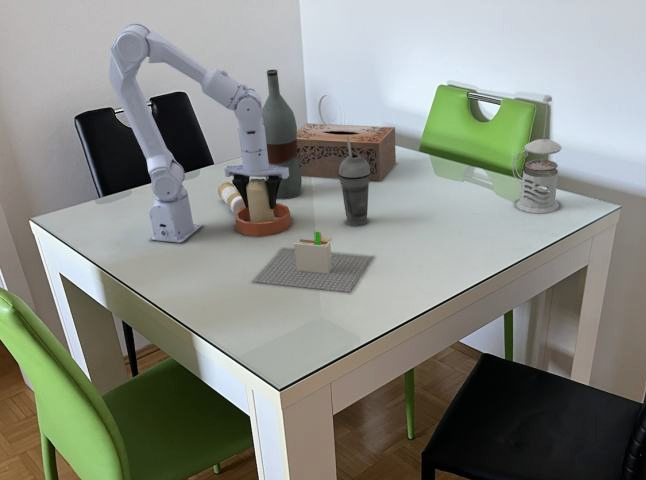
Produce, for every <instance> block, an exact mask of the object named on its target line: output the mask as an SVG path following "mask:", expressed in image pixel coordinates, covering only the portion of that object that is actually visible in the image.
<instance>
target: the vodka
mask: <svg viewBox="0 0 646 480" xmlns="http://www.w3.org/2000/svg"><path fill="white" fill-rule="evenodd" d="M265 73H266V77H267V78H266V79H267V88H268V96H267V98H266V101H265V103H264V104H263V106H262V108H263V112H262V117H263V125H264V127H265V136H266V144H267V153H268V162H269V165H274V166H279V167H288V168H289V176H288V178H287V179H283V178H282V180H281V183H280V186H279V189H278V193H277V200H278V199H279V200H287V199H292V198H295V197H297V196H299V195H300V194H301V189H302V180H303V179H302V177H303V176H301V172H300V167H299V163H298V159H297V130H298V126H297V121H296V117H295V114H294V111H293V109H292V108H291V106H290V105H289V104H288V103H287V101H286V100H285V99H284V97H283V96H282V95H281V91H280V84H279V74H278V73H279V71H278V69H267V70H266V72H265ZM264 179H265V180H267V179H269V177H264Z"/></svg>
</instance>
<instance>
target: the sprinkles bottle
mask: <svg viewBox="0 0 646 480" xmlns="http://www.w3.org/2000/svg"><path fill="white" fill-rule="evenodd" d="M217 193H218V196H219V197H220V199H222V200H223V202H224V203H225V204H226V205H227V207H229V208H230V210H231V211H232V213H233V214H234V215H235V213H236V212H237V211H238V210H239V209H240V208H243V207H245V204H244V201H243V199H242V197H241V195H240V193H239V192H238V190H237V189H236V187H235V186H234V185H233V183H232V182H223V183H221V184H220V185H219V187H218V189H217Z"/></svg>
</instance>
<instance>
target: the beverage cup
mask: <svg viewBox="0 0 646 480" xmlns="http://www.w3.org/2000/svg"><path fill="white" fill-rule="evenodd" d="M346 137H347V143H348V149H349V156H347V157H346V158H345V159H344V160H343V161H342V162H341V164H340V168H339V178H338V179H339V182H340V185H341V191H342V199H343V204H344V205H343V206H344V212H345V217H346V222H347V224H348V225H349V226H354V227H357V226H363V225H365V224H367V221H368V220H367V219H368V209H369V207H368V206H369V187H370V186H369V185H370V182H371V181H370V174H371V171H370V167H369V164H368V162H367V161H366V160H365V159H364V158H363V157H362V156H360V155H352V153H351V147H350V141H349V136H348V135H346Z"/></svg>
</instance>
